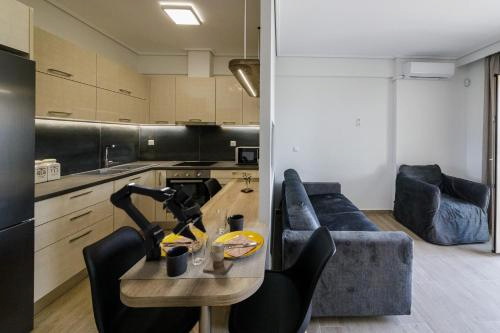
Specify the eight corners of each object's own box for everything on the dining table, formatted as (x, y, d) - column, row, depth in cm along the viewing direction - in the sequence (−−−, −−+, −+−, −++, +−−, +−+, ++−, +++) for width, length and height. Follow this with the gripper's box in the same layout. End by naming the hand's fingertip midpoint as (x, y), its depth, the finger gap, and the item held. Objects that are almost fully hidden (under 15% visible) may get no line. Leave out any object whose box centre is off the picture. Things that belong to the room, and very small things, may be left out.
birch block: (212, 260, 118) (211, 245, 117) (215, 256, 122) (215, 241, 121) (220, 261, 117) (220, 246, 116) (224, 257, 121) (223, 242, 120)
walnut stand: (203, 271, 116) (202, 262, 116) (212, 260, 126) (212, 252, 125) (224, 274, 114) (224, 265, 113) (232, 263, 123) (232, 255, 123)
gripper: (177, 204, 110) (202, 233, 109) (198, 194, 128) (220, 218, 127) (162, 221, 114) (186, 249, 112) (184, 208, 131) (205, 232, 130)
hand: (201, 236), depth 120 cm, fingers open, 9 cm apart
